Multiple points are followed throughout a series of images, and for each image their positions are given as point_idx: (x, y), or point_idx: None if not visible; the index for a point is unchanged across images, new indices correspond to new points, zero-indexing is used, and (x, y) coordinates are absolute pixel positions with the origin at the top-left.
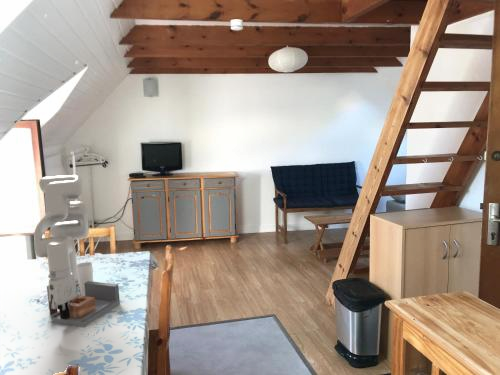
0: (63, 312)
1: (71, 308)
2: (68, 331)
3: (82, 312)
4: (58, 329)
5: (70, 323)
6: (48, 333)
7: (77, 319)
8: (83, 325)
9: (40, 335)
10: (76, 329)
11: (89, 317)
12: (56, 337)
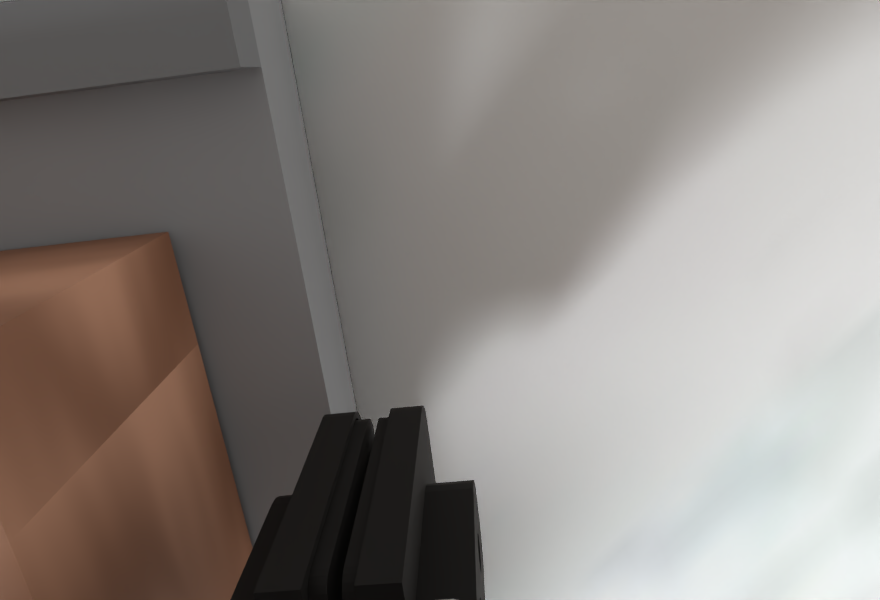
0: (459, 575)
1: (124, 594)
2: (548, 175)
3: (11, 276)
4: (550, 412)
5: (339, 358)
6: (719, 450)
7: (223, 273)
8: (276, 17)
9: (810, 509)
10: (424, 86)
11: (20, 4)
12: (816, 194)
